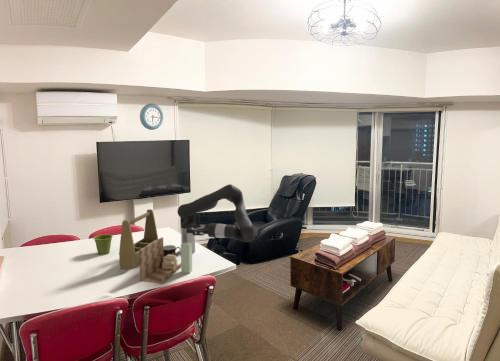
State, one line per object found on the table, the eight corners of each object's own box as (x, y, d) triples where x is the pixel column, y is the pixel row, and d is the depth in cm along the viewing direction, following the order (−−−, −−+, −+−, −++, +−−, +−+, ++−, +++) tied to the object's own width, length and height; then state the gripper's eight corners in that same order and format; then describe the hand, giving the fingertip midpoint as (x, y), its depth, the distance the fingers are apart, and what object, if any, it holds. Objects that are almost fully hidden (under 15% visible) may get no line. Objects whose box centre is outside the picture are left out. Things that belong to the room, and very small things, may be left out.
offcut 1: (168, 259, 194) (168, 254, 193) (176, 260, 192) (176, 255, 191) (163, 262, 189) (163, 257, 189) (171, 263, 187) (171, 258, 187)
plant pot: (100, 257, 209) (99, 240, 207) (91, 253, 216) (89, 237, 214) (117, 252, 218) (116, 236, 217) (107, 248, 225) (106, 233, 224)
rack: (162, 265, 195) (161, 237, 193) (182, 267, 193) (181, 238, 190) (140, 283, 172) (139, 250, 170) (162, 285, 169) (161, 252, 167)
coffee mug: (162, 266, 195) (161, 250, 194) (162, 261, 203) (161, 245, 202) (181, 264, 198) (181, 248, 197) (180, 259, 206) (180, 244, 205)
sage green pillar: (184, 270, 187) (183, 242, 185) (192, 271, 186) (191, 243, 184) (181, 273, 183) (180, 244, 181) (189, 274, 182) (189, 245, 180)
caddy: (135, 270, 189) (133, 220, 185) (119, 268, 191) (116, 219, 187) (159, 253, 217) (157, 209, 214) (144, 251, 220) (142, 208, 216)
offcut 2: (166, 264, 194) (166, 259, 194) (177, 265, 193) (177, 259, 193) (162, 268, 189) (162, 262, 188) (173, 269, 188) (173, 263, 187)
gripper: (222, 220, 179) (194, 218, 182) (213, 227, 165) (184, 225, 169) (222, 233, 180) (194, 231, 183) (213, 241, 166) (184, 239, 170)
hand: (189, 228), depth 176 cm, fingers open, 8 cm apart
